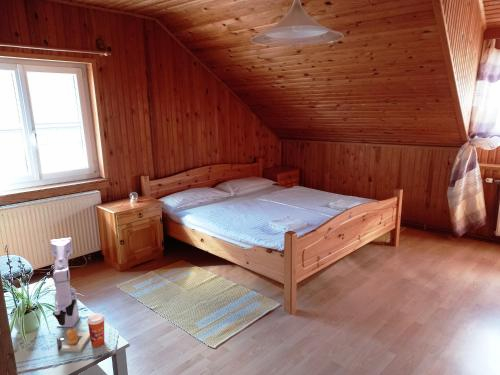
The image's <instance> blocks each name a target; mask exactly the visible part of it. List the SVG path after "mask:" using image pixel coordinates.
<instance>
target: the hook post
mask: <svg viewBox="0 0 500 375" xmlns="http://www.w3.org/2000/svg"><path fill="white" fill-rule="evenodd" d="M64 341H65V338H62V337H57V339H56V346H57V350H59V351H61V347H62V346H63V345H62V342H64Z"/></svg>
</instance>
